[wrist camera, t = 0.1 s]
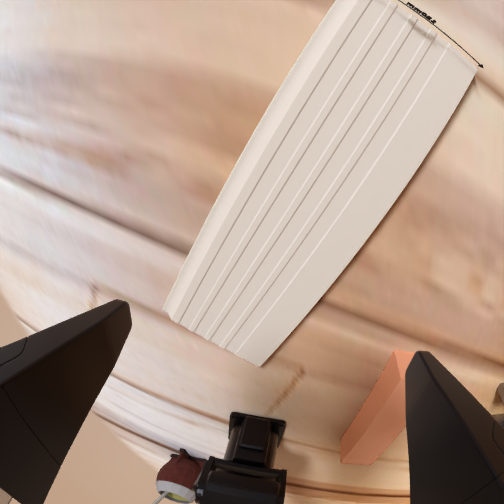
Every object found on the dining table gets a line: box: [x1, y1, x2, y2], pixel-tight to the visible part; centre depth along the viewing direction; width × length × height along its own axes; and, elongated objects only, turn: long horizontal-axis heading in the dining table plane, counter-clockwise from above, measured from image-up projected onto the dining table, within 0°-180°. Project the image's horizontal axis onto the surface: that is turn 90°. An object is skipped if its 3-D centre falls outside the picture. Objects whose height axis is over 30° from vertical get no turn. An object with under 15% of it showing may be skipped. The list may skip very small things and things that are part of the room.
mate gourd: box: [153, 448, 206, 504], centre depth 35 cm, size 8×8×15 cm
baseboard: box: [162, 0, 483, 367], centre depth 21 cm, size 31×3×12 cm
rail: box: [340, 350, 415, 465], centre depth 28 cm, size 16×4×4 cm, turn 172°
